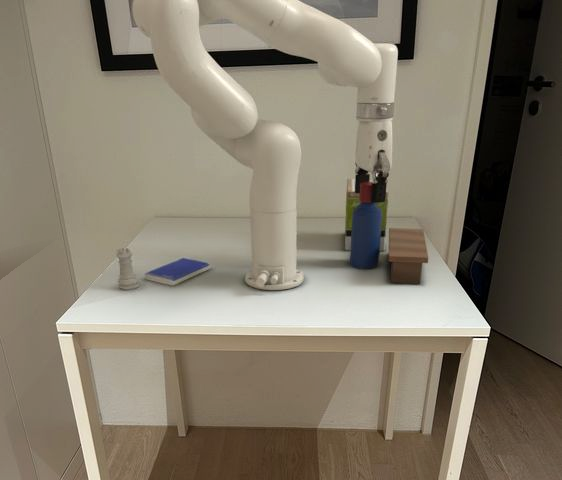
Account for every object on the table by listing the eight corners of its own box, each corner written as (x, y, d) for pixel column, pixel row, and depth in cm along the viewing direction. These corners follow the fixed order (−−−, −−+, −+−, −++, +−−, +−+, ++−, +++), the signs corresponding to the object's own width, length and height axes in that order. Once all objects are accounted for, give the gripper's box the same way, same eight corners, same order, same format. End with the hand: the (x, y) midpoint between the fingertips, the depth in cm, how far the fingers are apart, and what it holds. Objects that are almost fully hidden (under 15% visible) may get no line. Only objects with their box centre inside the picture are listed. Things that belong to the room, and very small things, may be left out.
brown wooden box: (425, 286, 122) (428, 257, 119) (386, 284, 123) (388, 256, 120) (420, 254, 141) (423, 229, 138) (387, 253, 142) (389, 227, 139)
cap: (358, 202, 126) (359, 185, 125) (359, 198, 130) (360, 181, 128) (376, 202, 126) (377, 185, 124) (376, 198, 129) (378, 181, 127)
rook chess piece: (144, 285, 124) (139, 249, 120) (128, 292, 121) (122, 254, 117) (129, 281, 126) (124, 245, 122) (113, 288, 123) (107, 251, 119)
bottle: (378, 269, 132) (384, 190, 123) (348, 268, 133) (352, 189, 124) (378, 260, 137) (384, 183, 129) (350, 259, 138) (354, 183, 130)
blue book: (173, 279, 123) (209, 263, 132) (144, 272, 126) (182, 257, 136) (173, 286, 123) (210, 269, 132) (145, 279, 127) (182, 263, 136)
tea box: (344, 234, 157) (346, 177, 150) (381, 234, 156) (386, 177, 149) (344, 251, 144) (346, 189, 136) (385, 251, 143) (390, 190, 136)
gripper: (409, 115, 113) (401, 205, 121) (376, 108, 127) (371, 188, 136) (373, 117, 111) (367, 207, 120) (343, 109, 126) (340, 190, 134)
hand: (369, 197), depth 128 cm, fingers open, 9 cm apart
